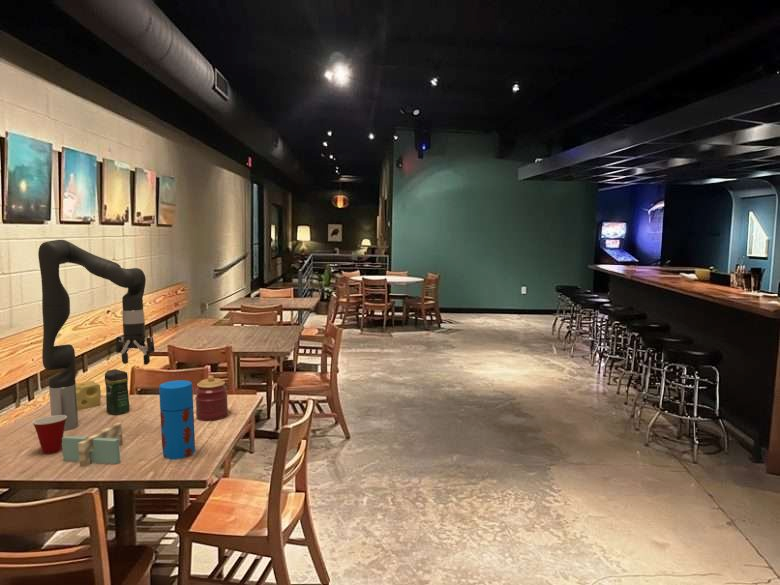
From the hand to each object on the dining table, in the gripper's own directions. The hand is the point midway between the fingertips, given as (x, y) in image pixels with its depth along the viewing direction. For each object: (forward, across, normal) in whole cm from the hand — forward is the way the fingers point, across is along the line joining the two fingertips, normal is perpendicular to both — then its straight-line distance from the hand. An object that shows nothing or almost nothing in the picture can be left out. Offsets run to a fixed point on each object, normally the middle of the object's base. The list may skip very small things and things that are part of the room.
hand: (136, 363), depth 215 cm
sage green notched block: (+28, -2, -25) cm, 37 cm away
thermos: (+28, +24, -14) cm, 40 cm away
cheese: (+28, -47, +31) cm, 63 cm away
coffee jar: (+28, -26, +25) cm, 46 cm away
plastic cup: (+28, -23, -18) cm, 41 cm away
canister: (+28, +17, +26) cm, 42 cm away
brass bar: (+28, -2, -19) cm, 34 cm away
